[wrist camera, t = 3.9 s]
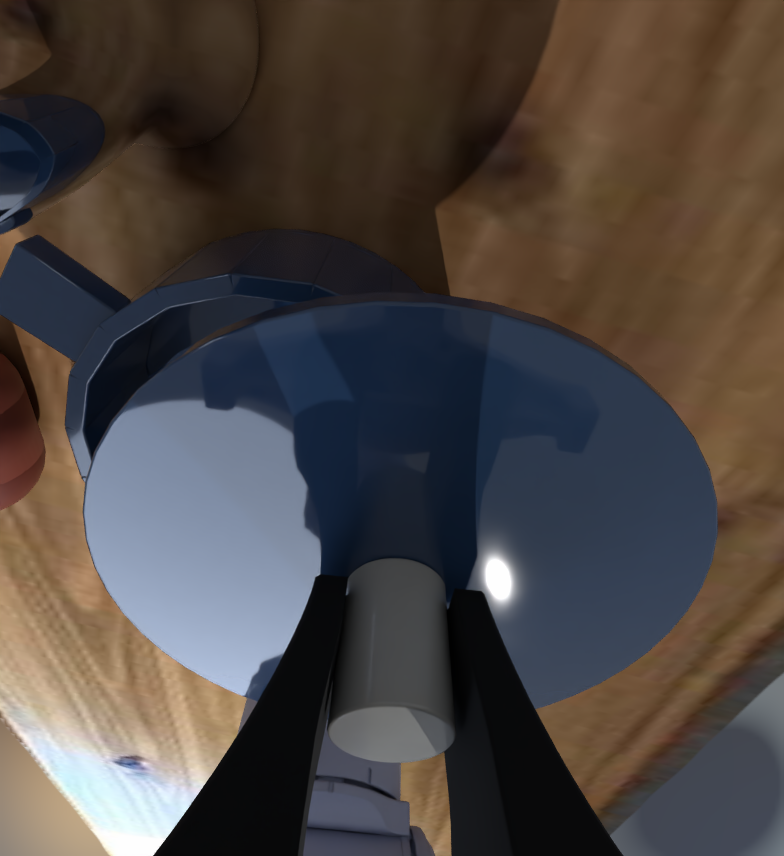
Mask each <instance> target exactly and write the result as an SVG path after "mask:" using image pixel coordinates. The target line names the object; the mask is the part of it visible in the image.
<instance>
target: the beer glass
mask: <svg viewBox="0 0 784 856" xmlns="http://www.w3.org/2000/svg"><path fill="white" fill-rule="evenodd" d="M258 57H259V26H258V17H257V10H256V5H255V0H0V235H2V234H4V233H7V232H9V231H11V230H13V229H15V228H17V227H19V226H21V225H23V224H25V223H27V222H28V221H30V220H31V219H33V218H34V217H36V216H38V215H39V214H41V213H42V212H44V211H46V210H47V209H49V208H50V207H52V206H53V205H55V204H57V203H58V202H60V201H61V200H63V199H65V198H66V197H68V196H69V195H71V194H72V193H74V192H75V191H77V190H78V189H80V188H81V187H82V186H84V185H85V184H86V183H87V182H89V181H90V180H91V179H92V178H94V177H95V176H96V175H97V174H99V173H100V172H101V171H102V170H104V169H105V168H106V167H107V166H109V165H110V164H111V163H112V162H113V161H115V160H116V159H117V158H118V157H119V156H120V155H122V154H123V153H124V152H125V151H126V150H127V149H129V148H130V147H131V146H132V145H134V144H140V145H144V146H149V147H156V148H164V149H179V148H187V147H192V146H196V145H200V144H202V143H205V142H207V141H209V140H211V139H213V138H215V137H216V136H218V135H219V134H220V133H221V132H223V131H224V130H225V129H226V128H227V127H228V126H229V125H230V124H231V123H232V122H233V121H234V120H235V118H236V117H237V116H238V114H239V113H240V111H241V110H242V108H243V106H244V105H245V103H246V101H247V99H248V97H249V94H250V92H251V89H252V86H253V83H254V79H255V75H256V71H257V65H258Z"/></svg>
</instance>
